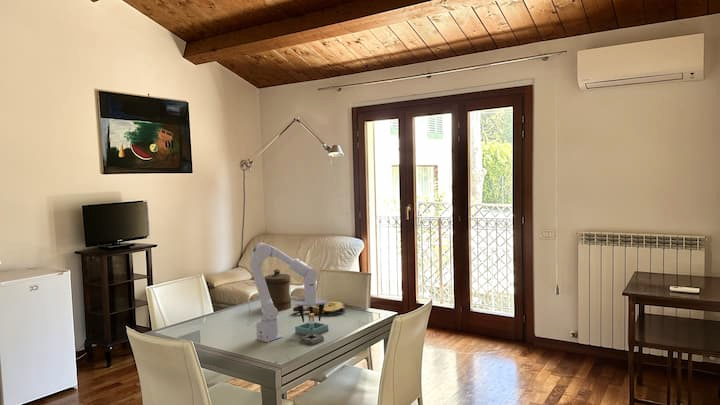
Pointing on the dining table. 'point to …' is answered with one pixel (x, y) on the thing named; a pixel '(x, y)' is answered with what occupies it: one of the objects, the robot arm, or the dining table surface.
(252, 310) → the dining table surface
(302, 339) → the pin bracket
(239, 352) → the dining table surface
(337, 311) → the pulley block
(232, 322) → the dining table surface
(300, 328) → the tray
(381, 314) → the dining table surface
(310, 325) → the pin
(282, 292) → the wooden container
